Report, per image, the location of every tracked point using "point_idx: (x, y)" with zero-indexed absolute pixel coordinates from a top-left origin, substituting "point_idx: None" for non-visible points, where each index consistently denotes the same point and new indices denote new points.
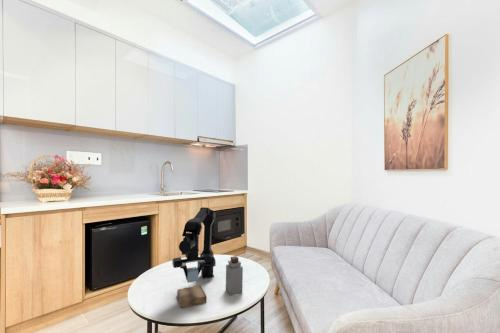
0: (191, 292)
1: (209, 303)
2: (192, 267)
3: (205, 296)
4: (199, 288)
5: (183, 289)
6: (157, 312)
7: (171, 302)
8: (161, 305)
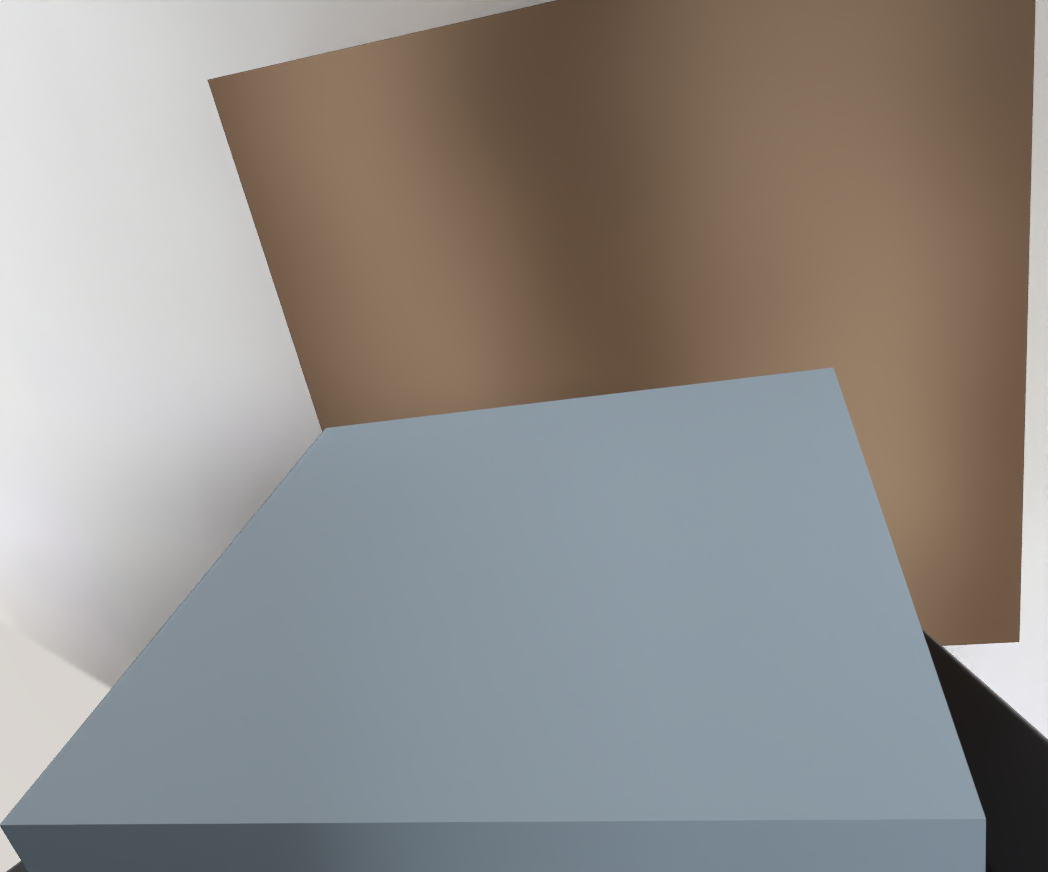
0: (635, 365)
1: (1031, 604)
2: (551, 841)
3: (986, 642)
4: (920, 177)
5: (389, 119)
6: (66, 581)
7: (216, 347)
8: (53, 400)
